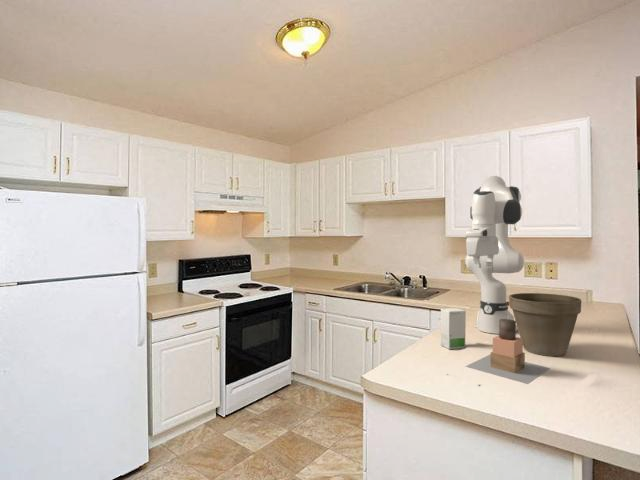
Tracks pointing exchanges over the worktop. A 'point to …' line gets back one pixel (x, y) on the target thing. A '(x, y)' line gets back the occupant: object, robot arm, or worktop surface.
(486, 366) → the slate mat
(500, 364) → the walnut base block
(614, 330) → the worktop surface
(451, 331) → the skincare box
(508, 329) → the espresso cylinder
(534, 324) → the plant pot
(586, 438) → the worktop surface
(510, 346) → the terracotta top block
